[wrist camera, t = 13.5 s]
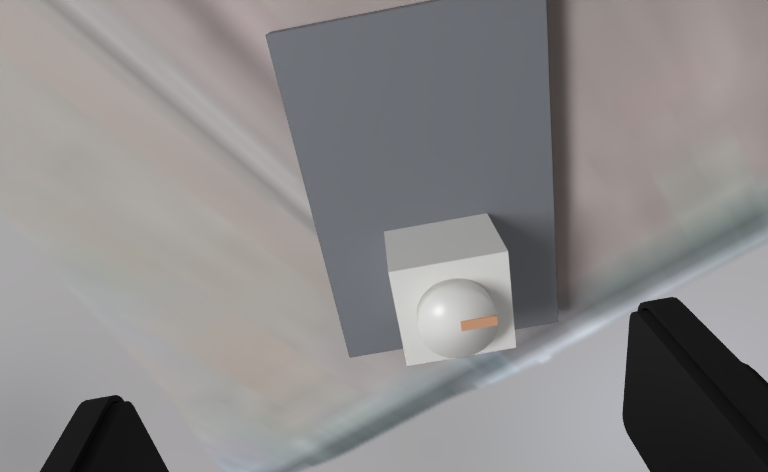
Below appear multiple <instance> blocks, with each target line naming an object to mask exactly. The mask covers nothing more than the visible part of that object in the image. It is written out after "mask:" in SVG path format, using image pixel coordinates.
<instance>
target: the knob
mask: <svg viewBox="0 0 768 472" xmlns="http://www.w3.org/2000/svg"><path fill="white" fill-rule="evenodd" d="M384 236H385V246H386V256H387V266H388V274H389V279H390V284H391V289H392V294H393V299H394V304H395V309H396V314H397V319H398V324H399V329H400V334H401V339H402V344H403V349H404V354H405V359H406V364H407V366H410V365H416V364H422V363H428V362H434V361H440V360H446V359H451V358H464V357H468V356H471V355H475V354H481V353H487V352H493V351H499V350H505V349H511V348H516V341H515V329H514V317H513V305H512V292H511V280H510V268H509V256H508V250H507V248H506V246H505V245H504V243H503V241H502V239H501V238H500V236H499V234H498V232H497V230H496V229H495V227H494V225H493V223H492V221H491V220H490V218H489V216H488V214H487V213H485V214H480V215H474V216H469V217H463V218H457V219H452V220H446V221H441V222H435V223H429V224H424V225H418V226H413V227H407V228H402V229H396V230H390V231H385V232H384Z"/></svg>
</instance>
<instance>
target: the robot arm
mask: <svg viewBox="0 0 768 472" xmlns="http://www.w3.org/2000/svg"><path fill="white" fill-rule="evenodd" d="M623 422H624V426H625V429H626V431H627V433H628V435H629V437H630V439H631V441H632V442H633V444H634V445H635V447H636V449H637V450H638V452H639V454H640V455H641V457H642V459H643V460H644V462H645V464H646V465H647V467H648V469H649V470H650V472H768V383H767V382H766V381H765V380H764V379H763V378H762V377H761V376H760V375H759V374H758V373H757V372H756V371H755V370H754V369H752V368H751V367H750V366H749V365H747V364H745V363H742V362H741V361H740V360H739V359H738V358H737V357H736V356H735V355H734V354H733V353H732V352H731V351H730V350H729V349H728V348H727V347H726V346H725V345H724V344H723V343H722V342H721V341H720V340H719V339H718V338H717V337H716V336H715V335H714V334H713V333H712V332H711V331H710V330H709V329H708V328H707V327H706V326H705V325H704V324H703V323H702V322H701V321H700V320H699V319H698V318H697V317H696V316H695V315H694V314H693V313H692V312H691V311H690V310H689V309H688V308H687V307H686V306H685V305H684V304H683V303H682V302H681V301H680V300H678V299H677V298H674V297H670V298H664V299H658V300H653V301H647V302H643V303H640V305H639V307H638V311H637V312H633V313H631V315H630V321H629V334H628V348H627V361H626V375H625V388H624V402H623ZM40 472H169V471H168V469H167V467H166V465H165V463H164V462H163V460H162V458H161V456H160V454H159V453H158V451H157V449H156V447H155V445H154V443H153V441H152V439H151V438H150V436H149V434H148V432H147V430H146V428H145V426H144V425H143V423H142V421H141V419H140V417H139V415H138V413H137V412H136V410H135V408H134V406H133V405H132V403H131V402H129V401H126V402H124V400H123V399H122V398H121V397H120V396H118V395H114V396H108V397H102V398H97V399H91V400H86V401H84V402H82V403H81V404H80V405H79V407H78V408H77V410H76V411H75V413H74V415H73V416H72V418H71V420H70V421H69V423H68V425H67V427H66V428H65V430H64V432H63V433H62V435H61V437H60V438H59V440H58V442H57V443H56V445H55V447H54V449H53V450H52V452H51V454H50V455H49V457H48V459H47V460H46V462H45V464H44V466H43V467H42V469H41V471H40Z"/></svg>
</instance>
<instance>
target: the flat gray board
mask: <svg viewBox="0 0 768 472" xmlns="http://www.w3.org/2000/svg"><path fill="white" fill-rule="evenodd" d="M266 39H267V43H268V47H269V51H270V54H271V58H272V62H273V66H274V70H275V74H276V77H277V81H278V85H279V89H280V93H281V97H282V100H283V104H284V108H285V112H286V116H287V120H288V123H289V127H290V131H291V135H292V139H293V143H294V146H295V150H296V154H297V158H298V162H299V166H300V169H301V173H302V177H303V181H304V185H305V189H306V192H307V196H308V200H309V204H310V208H311V212H312V215H313V219H314V223H315V227H316V231H317V235H318V238H319V242H320V246H321V250H322V254H323V258H324V261H325V265H326V269H327V273H328V277H329V281H330V284H331V288H332V292H333V296H334V300H335V304H336V307H337V311H338V315H339V319H340V323H341V327H342V330H343V334H344V338H345V342H346V346H347V349H348V353H349V357H356V356H362V355H368V354H374V353H380V352H385V351H391V350H397V349H403V344H402V339H401V334H400V329H399V324H398V319H397V314H396V309H395V304H394V299H393V294H392V289H391V284H390V279H389V274H388V266H387V256H386V246H385V236H384V232H385V231H390V230H396V229H402V228H407V227H413V226H418V225H424V224H429V223H435V222H441V221H446V220H452V219H457V218H463V217H469V216H474V215H480V214H485V213H487V214H488V216H489V218H490V220H491V221H492V223H493V225H494V227H495V229H496V230H497V232H498V234H499V236H500V238H501V239H502V241H503V243H504V245H505V246H506V248H507V250H508V256H509V268H510V280H511V292H512V305H513V317H514V329H520V328H526V327H531V326H537V325H543V324H549V323H555V322H558V300H557V274H556V247H555V221H554V194H553V168H552V142H551V115H550V89H549V62H548V36H547V9H546V0H430V1H425V2H420V3H415V4H410V5H405V6H400V7H395V8H390V9H385V10H380V11H374V12H369V13H364V14H359V15H354V16H349V17H344V18H339V19H334V20H329V21H324V22H318V23H313V24H308V25H303V26H298V27H293V28H288V29H283V30H278V31H273V32H270V33H268V34H266Z"/></svg>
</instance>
